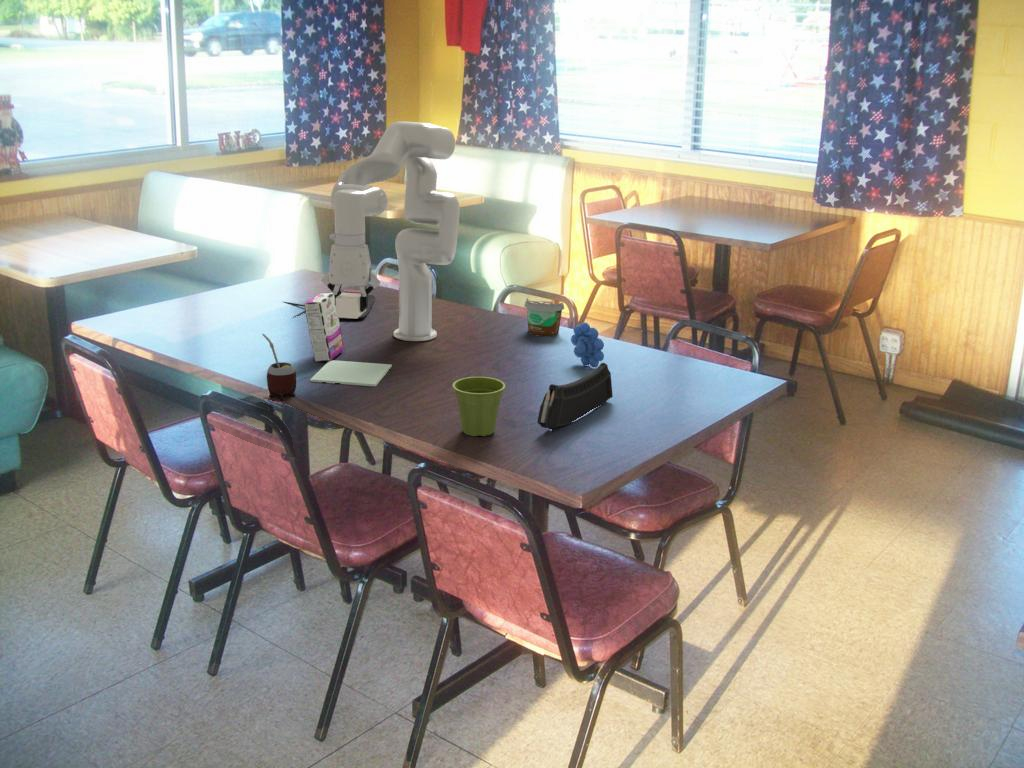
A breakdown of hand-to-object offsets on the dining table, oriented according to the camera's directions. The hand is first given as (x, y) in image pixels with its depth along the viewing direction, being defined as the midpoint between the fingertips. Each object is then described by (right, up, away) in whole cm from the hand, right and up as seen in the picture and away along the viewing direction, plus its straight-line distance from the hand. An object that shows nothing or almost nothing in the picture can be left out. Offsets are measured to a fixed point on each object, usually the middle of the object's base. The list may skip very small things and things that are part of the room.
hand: (351, 309), depth 278 cm
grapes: (+61, -15, +18) cm, 65 cm away
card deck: (0, -1, 0) cm, 1 cm away
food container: (+49, -5, +47) cm, 69 cm away
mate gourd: (-15, -22, -13) cm, 30 cm away
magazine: (+56, -27, -20) cm, 66 cm away
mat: (-1, -17, +5) cm, 17 cm away
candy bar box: (-9, -12, +19) cm, 24 cm away
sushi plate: (-19, +4, +68) cm, 71 cm away
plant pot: (+33, -30, -31) cm, 55 cm away
